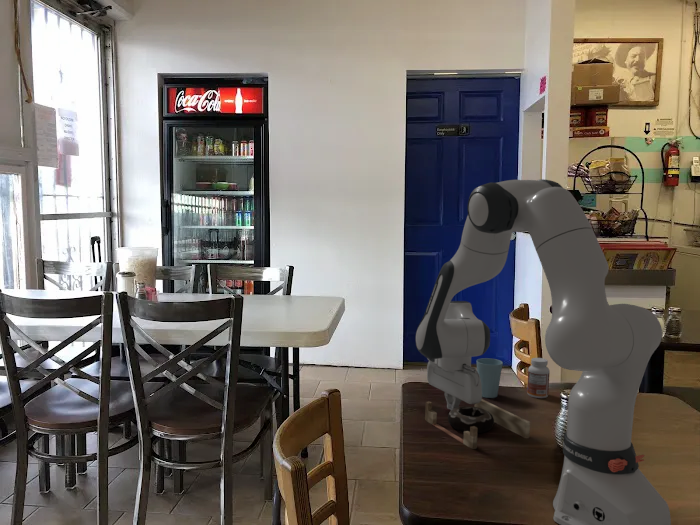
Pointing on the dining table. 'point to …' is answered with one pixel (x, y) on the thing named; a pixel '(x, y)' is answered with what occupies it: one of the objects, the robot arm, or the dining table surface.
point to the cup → (489, 376)
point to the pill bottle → (538, 378)
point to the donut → (470, 419)
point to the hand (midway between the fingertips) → (452, 409)
